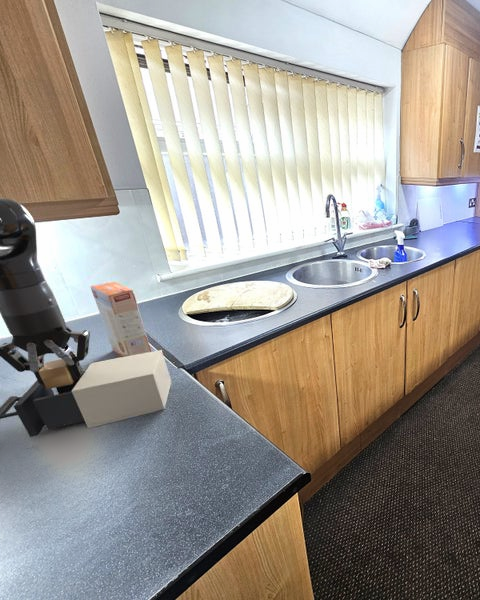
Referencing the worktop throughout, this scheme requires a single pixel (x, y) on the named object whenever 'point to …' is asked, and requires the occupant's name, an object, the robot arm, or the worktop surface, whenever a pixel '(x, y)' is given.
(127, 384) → the cream rectangular box
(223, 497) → the worktop surface
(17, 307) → the robot arm
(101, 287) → the cracker box
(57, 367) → the block
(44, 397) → the dark grey drawer
